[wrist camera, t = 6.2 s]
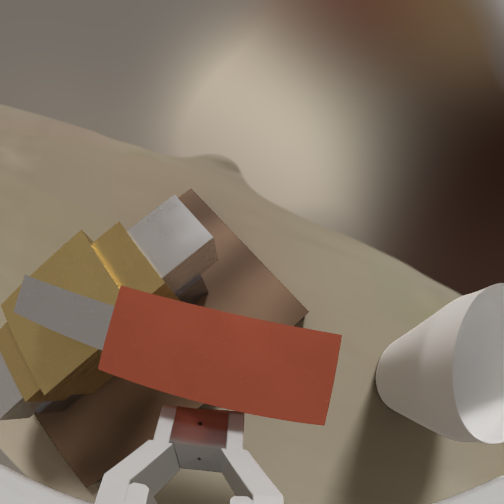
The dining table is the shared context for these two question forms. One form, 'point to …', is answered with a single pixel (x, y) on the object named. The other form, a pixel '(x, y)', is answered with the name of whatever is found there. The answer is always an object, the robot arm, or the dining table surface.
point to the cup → (451, 369)
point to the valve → (101, 289)
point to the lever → (196, 350)
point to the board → (150, 400)
